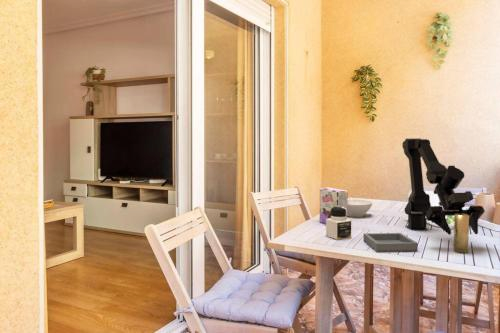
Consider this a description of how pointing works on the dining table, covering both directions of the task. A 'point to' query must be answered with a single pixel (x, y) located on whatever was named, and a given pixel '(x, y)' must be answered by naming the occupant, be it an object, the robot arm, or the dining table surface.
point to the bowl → (357, 207)
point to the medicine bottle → (338, 224)
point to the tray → (390, 242)
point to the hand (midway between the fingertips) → (463, 233)
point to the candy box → (331, 201)
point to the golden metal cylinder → (461, 233)
